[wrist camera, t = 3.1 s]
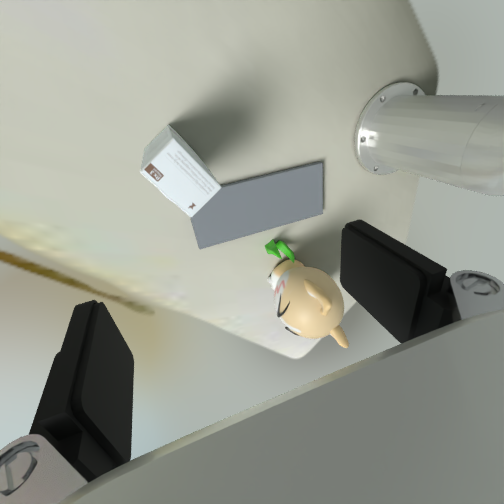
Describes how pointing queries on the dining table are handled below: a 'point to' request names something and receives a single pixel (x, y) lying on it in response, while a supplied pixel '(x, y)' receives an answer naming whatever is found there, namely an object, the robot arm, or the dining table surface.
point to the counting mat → (260, 204)
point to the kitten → (306, 298)
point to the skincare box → (178, 172)
